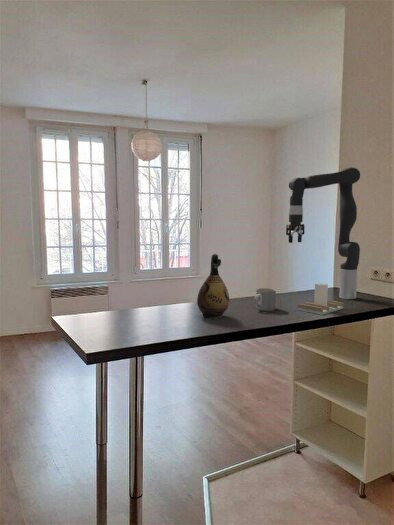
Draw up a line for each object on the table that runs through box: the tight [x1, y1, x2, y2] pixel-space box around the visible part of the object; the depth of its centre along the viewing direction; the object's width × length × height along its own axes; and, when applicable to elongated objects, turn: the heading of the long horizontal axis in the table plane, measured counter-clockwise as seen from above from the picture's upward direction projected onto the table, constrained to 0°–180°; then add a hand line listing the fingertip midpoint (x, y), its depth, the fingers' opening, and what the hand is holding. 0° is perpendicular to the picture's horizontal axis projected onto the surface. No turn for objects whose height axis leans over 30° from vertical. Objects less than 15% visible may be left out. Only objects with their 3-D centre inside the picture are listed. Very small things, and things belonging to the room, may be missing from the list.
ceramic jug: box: [196, 253, 230, 320], centre depth 192 cm, size 17×15×30 cm
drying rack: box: [297, 299, 344, 316], centre depth 208 cm, size 20×14×3 cm
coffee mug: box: [253, 287, 277, 312], centre depth 208 cm, size 13×10×10 cm
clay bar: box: [313, 282, 329, 306], centre depth 207 cm, size 4×5×12 cm
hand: (295, 242), depth 229 cm, fingers open, 8 cm apart
